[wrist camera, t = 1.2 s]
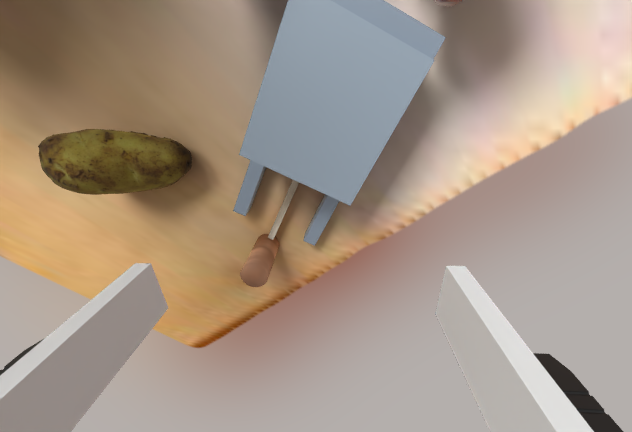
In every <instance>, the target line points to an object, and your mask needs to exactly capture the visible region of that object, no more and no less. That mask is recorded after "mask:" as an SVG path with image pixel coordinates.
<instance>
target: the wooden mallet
mask: <svg viewBox="0 0 632 432" xmlns="http://www.w3.org/2000/svg"><path fill="white" fill-rule="evenodd" d="M298 184H299V182H297V181H295V180H293V181H292V183H291V185H290V188H289V190H288V192H287V195H286V197H285V199H284V201H283V204H282V206H281V208H280V211H279V213H278V215H277V217H276V220H275V222H274V224H273V227H272V229H271V231H270V233H269V234H264V235H261V236H260V237H259V238H258V240H257V241H256V243H255V245H254V247H253V249H252V251H251V253H250V255H249V257H248V259H247V260H246V262H245V264H244V266H243V268H242V270H241V272H240V276H241V279H242V280H243V282H244V283H246V284H247V285H249V286H252V287H260V286H262V285H264V284H265V283H266V282H267V279H268V276H269V274H270V271H271V268H272V265H273V262H274V260H275V257H276V254H277V251H278V248H279V241H278V240H277V238H276V237H275V235H276V233H277V230H278V228H279V226H280V224H281V222H282V219H283V217H284V215H285V213H286V211H287V208H288V206H289V204H290V202H291V200H292V197H293V195H294V193H295V191H296V189H297V186H298Z"/></svg>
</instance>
